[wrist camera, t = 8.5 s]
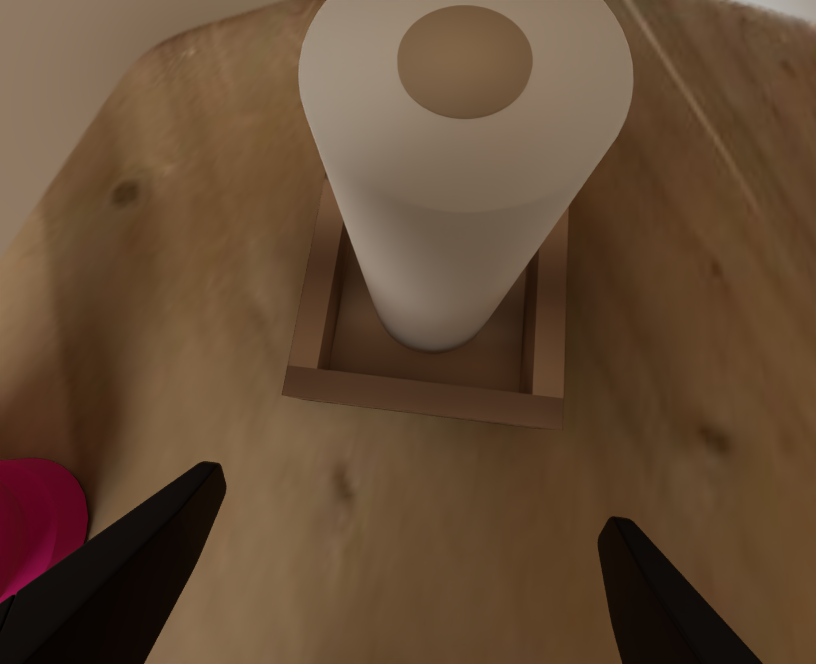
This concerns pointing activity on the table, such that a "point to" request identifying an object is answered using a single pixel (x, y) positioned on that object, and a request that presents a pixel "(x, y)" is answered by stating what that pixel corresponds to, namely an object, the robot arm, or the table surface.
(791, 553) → the table surface
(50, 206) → the table surface
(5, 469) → the pepper mill
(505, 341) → the tray
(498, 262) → the paper roll
